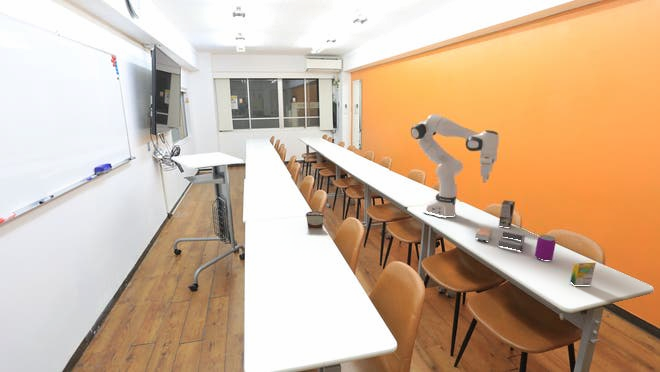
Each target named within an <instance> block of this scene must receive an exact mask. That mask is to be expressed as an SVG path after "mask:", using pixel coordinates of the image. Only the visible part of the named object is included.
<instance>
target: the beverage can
mask: <svg viewBox="0 0 660 372" xmlns="http://www.w3.org/2000/svg"><path fill="white" fill-rule="evenodd" d="M555 248H556V240H555V237H553V236H552V235H548V234H540V235H539V237H538V238H537V241H536V247H535V250H534V251H535V252H534V257H535V256H536V257H537V258H540V259H543V260H551V261H552V260H553V259H554V253H555ZM536 257H535V258H536ZM537 258H536V259H537Z"/></svg>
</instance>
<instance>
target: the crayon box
mask: <svg viewBox="0 0 660 372" xmlns="http://www.w3.org/2000/svg"><path fill="white" fill-rule="evenodd" d="M595 267H596V262H580V263H574V264H573V267H572V271H571V277H570V281H569V283H570V282H572V283H573V284H574V285H591V286H592V281H593V276H594V271H595Z"/></svg>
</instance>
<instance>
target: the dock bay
mask: <svg viewBox="0 0 660 372" xmlns="http://www.w3.org/2000/svg"><path fill="white" fill-rule="evenodd" d="M501 235H502V236H503V237H508V238H513V239H518V240H521V242H520V244H517V243H513V242H510V241H505V240H498V245H499V246H503V247H508V248H512V249H516V250H520V251H522V252H523V249H524V244H525V239H526V235H525V234H519V233H513V232H509V231H502V234H501Z"/></svg>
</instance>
